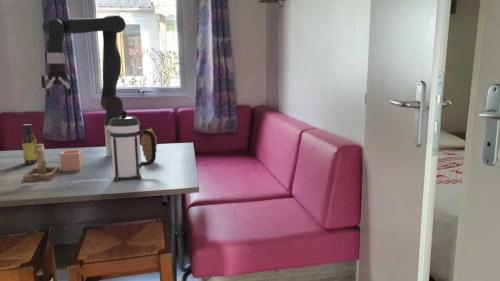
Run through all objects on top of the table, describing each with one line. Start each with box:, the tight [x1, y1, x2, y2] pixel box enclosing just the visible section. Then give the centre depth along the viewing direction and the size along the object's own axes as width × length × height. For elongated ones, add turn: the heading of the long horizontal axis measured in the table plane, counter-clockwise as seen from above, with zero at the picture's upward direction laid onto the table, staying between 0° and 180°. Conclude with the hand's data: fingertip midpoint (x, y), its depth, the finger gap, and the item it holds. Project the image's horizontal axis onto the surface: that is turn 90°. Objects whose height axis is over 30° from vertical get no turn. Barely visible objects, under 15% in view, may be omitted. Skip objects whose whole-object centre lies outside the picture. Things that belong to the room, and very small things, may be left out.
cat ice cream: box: [140, 126, 158, 162], centre depth 193 cm, size 9×8×18 cm
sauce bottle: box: [21, 123, 37, 165], centre depth 191 cm, size 6×6×20 cm
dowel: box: [35, 143, 47, 175], centre depth 166 cm, size 3×3×14 cm
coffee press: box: [106, 110, 157, 183], centre depth 166 cm, size 17×16×30 cm
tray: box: [22, 165, 61, 184], centre depth 167 cm, size 11×14×3 cm
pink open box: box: [59, 149, 84, 172], centre depth 179 cm, size 8×8×9 cm
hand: (59, 96), depth 183 cm, fingers open, 8 cm apart
